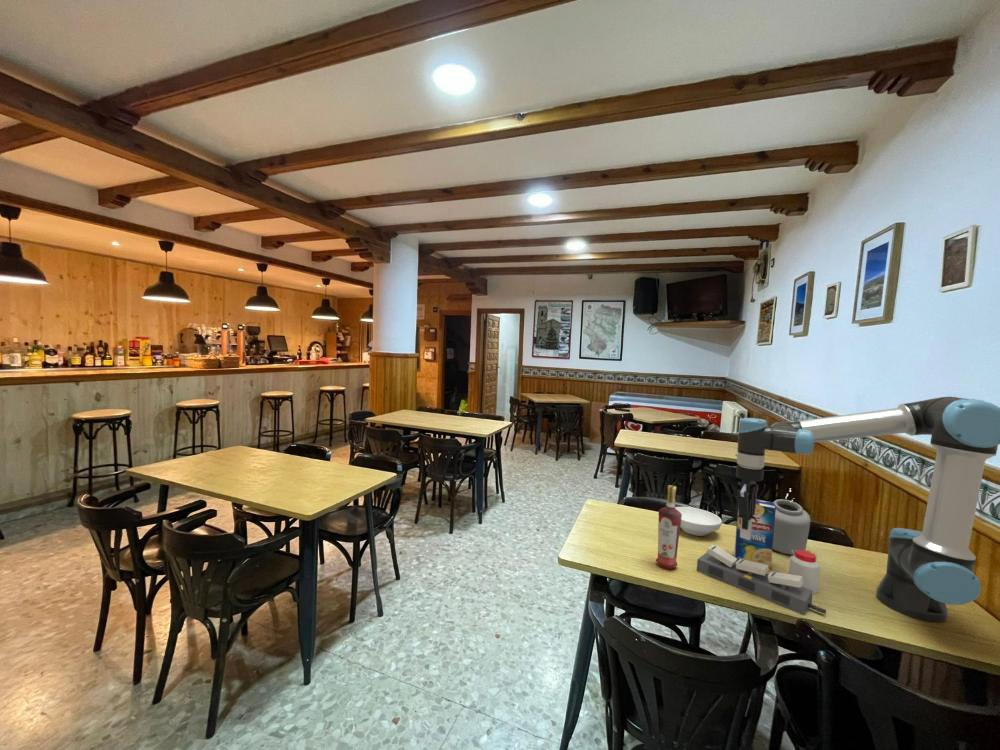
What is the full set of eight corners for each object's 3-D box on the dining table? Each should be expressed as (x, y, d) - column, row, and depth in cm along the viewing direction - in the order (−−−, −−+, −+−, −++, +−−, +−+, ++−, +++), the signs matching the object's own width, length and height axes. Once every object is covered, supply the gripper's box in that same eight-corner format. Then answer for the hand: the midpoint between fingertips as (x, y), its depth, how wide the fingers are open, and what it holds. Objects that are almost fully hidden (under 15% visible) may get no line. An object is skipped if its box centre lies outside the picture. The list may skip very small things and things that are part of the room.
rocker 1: (735, 563, 135) (737, 558, 134) (730, 567, 132) (732, 562, 131) (711, 548, 140) (713, 544, 140) (706, 552, 137) (708, 547, 137)
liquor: (681, 566, 140) (686, 486, 138) (673, 573, 134) (679, 491, 133) (659, 558, 145) (665, 481, 143) (651, 565, 139) (657, 485, 138)
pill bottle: (819, 596, 125) (822, 562, 125) (788, 587, 129) (791, 554, 129) (815, 585, 132) (818, 552, 131) (787, 577, 136) (789, 545, 135)
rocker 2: (768, 571, 127) (768, 564, 128) (764, 575, 125) (764, 569, 125) (740, 564, 133) (740, 558, 134) (736, 568, 130) (735, 562, 131)
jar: (814, 566, 145) (820, 498, 144) (766, 556, 150) (772, 490, 149) (799, 544, 162) (804, 483, 161) (756, 536, 168) (761, 477, 167)
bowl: (730, 543, 160) (731, 526, 159) (680, 541, 160) (682, 523, 160) (705, 523, 179) (706, 507, 179) (661, 521, 179) (662, 505, 179)
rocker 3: (803, 582, 121) (802, 576, 121) (800, 587, 118) (798, 580, 118) (773, 577, 127) (771, 571, 127) (768, 582, 124) (767, 575, 124)
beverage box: (770, 570, 140) (776, 508, 139) (734, 561, 145) (739, 501, 144) (768, 562, 146) (773, 502, 145) (734, 553, 151) (738, 496, 150)
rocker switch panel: (828, 610, 118) (829, 593, 118) (822, 622, 112) (823, 605, 112) (707, 562, 143) (708, 548, 143) (696, 570, 137) (697, 556, 137)
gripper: (743, 460, 137) (739, 529, 138) (730, 466, 128) (725, 539, 129) (769, 465, 131) (764, 536, 132) (756, 472, 122) (752, 548, 123)
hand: (745, 538), depth 131 cm, fingers closed
